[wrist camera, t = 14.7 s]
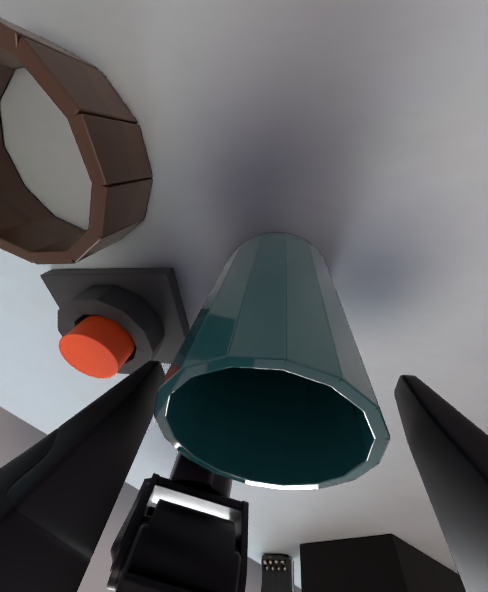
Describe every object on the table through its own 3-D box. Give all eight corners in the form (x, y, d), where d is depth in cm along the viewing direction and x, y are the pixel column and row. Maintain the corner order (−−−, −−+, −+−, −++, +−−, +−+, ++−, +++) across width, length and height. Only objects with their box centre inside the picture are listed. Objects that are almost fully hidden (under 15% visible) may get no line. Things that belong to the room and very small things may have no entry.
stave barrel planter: (168, 237, 15) (134, 262, 12) (45, 242, 17) (-16, 265, 13) (114, 25, 10) (28, -39, 7) (-51, 62, 12) (-187, 25, 8)
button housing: (173, 267, 16) (152, 288, 13) (196, 356, 20) (183, 385, 18) (51, 269, 18) (12, 288, 15) (96, 351, 22) (72, 376, 20)
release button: (123, 314, 15) (103, 335, 14) (142, 358, 18) (126, 380, 16) (72, 313, 16) (46, 333, 14) (95, 355, 18) (75, 376, 16)
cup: (323, 324, 17) (363, 501, 8) (231, 322, 18) (181, 475, 9) (334, 229, 13) (423, 365, 5) (218, 234, 14) (122, 350, 6)
